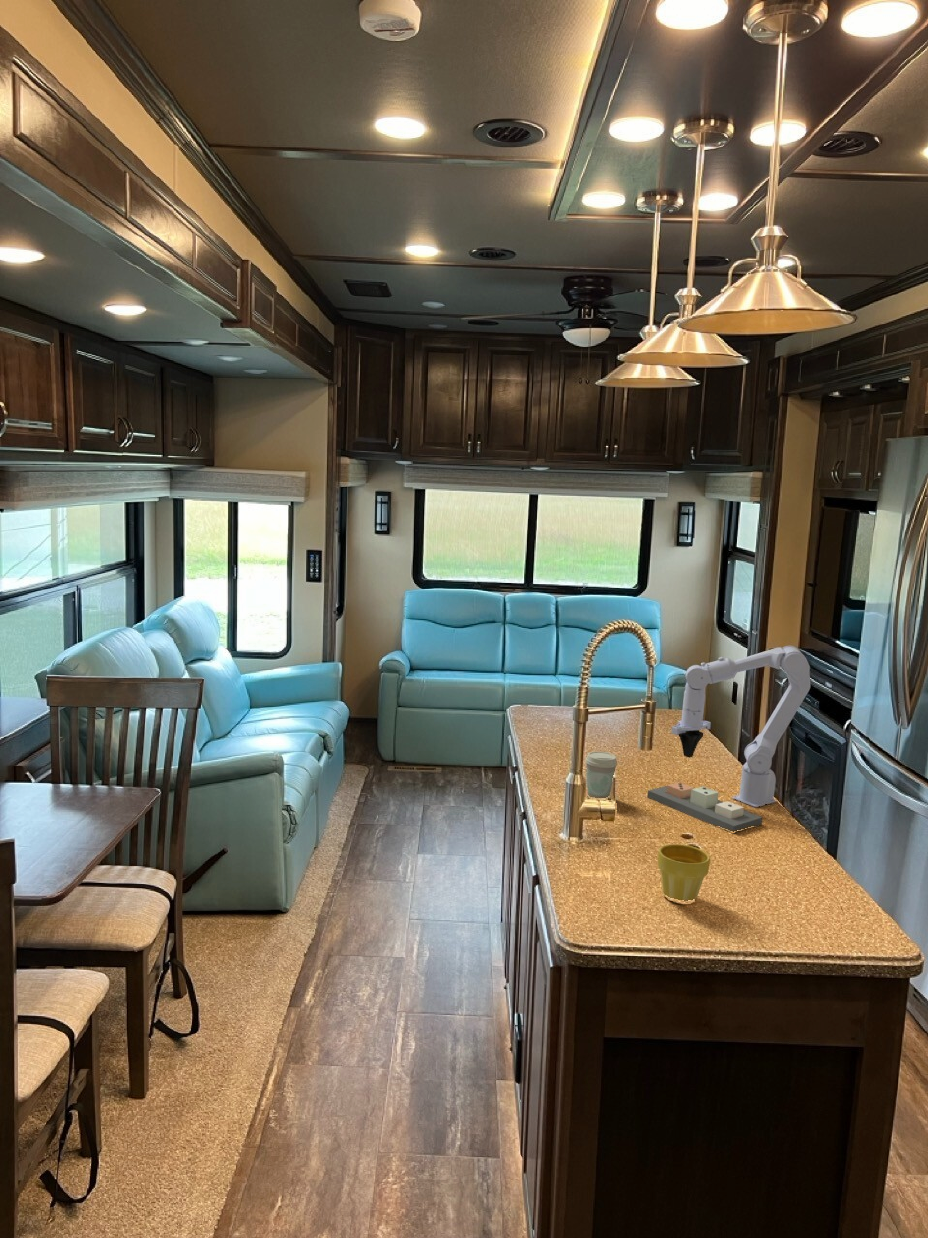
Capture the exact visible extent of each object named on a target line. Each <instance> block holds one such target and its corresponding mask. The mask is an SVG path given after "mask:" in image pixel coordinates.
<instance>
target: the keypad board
mask: <svg viewBox="0 0 928 1238" xmlns="http://www.w3.org/2000/svg"><path fill="white" fill-rule="evenodd" d="M646 797H647V798H648V799H649V800H650V799H651V800H652V801H654V802H658V803H659V804H661V805H665V806H667V807H669V808H672V809H674V810H676V811H679V812H680V813H683V814H686V815H688V816H690V817H693V818H696V819H697V818H698V819H697V820H699V821H702V820H703V821H702V822H704V821H705V823H707V822H708V823H707V824H709V823H710V824H709V825H711V824H713V825H712V826H714V825H715V826H714V827H716V826H720V827H722V828H725V829H728V830H730V831H733V832H734V831H737V830H741V829H745V828H748V827H751V826H756V827H759V826H762V825H763V816H760V815H758V814H755V813H752V812H750V811H748V810H743V816H741V817H737V818H734V819H729V818H727V817H724V816H722V815H719V814H717V813H715V806H714V807H711V808H707V809H705V808H702V807H700V806H697V805H695V804H692V803H690V798H691V797H687V798H683V799H680V798H678V797H675V796H673V795H670V794H668V793H667V785H666V786H661V787H657V788H652V789H649V790H647V796H646ZM723 802H724V801H722V800H719V799H718V803H717V804H719V803H723ZM761 824H762V825H761ZM758 825H759V826H758Z"/></svg>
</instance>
